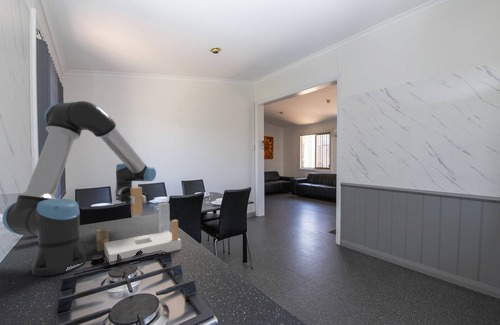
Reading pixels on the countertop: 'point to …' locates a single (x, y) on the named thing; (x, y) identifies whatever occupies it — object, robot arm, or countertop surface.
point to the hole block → (144, 244)
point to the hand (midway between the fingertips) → (139, 200)
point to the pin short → (101, 238)
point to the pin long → (164, 217)
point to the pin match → (136, 200)
